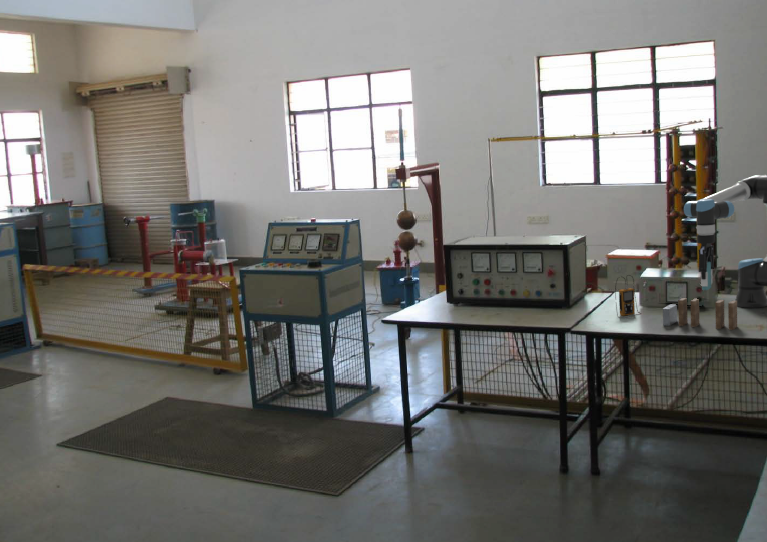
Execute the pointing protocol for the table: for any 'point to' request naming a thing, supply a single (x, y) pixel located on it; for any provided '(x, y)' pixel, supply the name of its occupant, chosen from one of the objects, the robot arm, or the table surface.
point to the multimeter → (626, 301)
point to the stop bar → (669, 315)
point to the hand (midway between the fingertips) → (706, 284)
